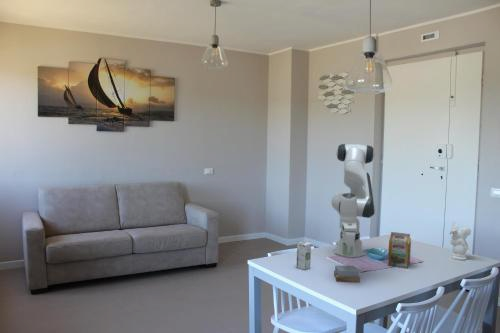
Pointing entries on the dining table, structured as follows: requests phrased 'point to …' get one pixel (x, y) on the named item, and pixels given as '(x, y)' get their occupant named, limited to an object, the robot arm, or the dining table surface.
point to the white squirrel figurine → (459, 241)
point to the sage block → (344, 250)
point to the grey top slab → (346, 271)
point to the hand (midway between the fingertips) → (347, 250)
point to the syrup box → (303, 255)
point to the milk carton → (399, 250)
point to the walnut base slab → (346, 278)
